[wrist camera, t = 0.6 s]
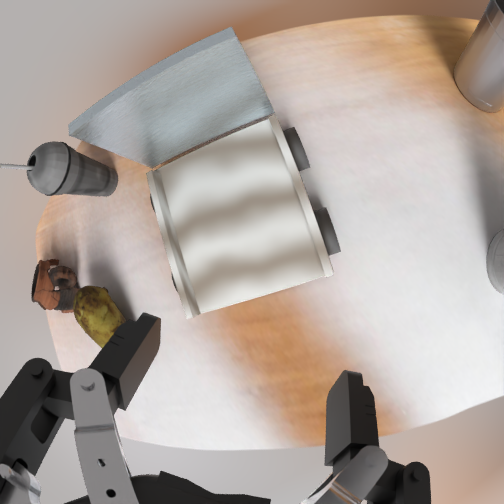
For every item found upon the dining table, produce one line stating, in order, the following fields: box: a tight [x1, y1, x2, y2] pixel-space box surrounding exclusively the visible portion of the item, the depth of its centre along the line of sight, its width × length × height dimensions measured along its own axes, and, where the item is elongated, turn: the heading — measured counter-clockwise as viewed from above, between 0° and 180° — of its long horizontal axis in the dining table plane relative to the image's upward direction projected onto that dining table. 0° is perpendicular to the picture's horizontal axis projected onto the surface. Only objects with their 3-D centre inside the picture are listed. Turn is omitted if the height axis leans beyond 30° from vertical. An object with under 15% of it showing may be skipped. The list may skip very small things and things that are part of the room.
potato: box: [73, 286, 126, 348], centre depth 38 cm, size 8×13×8 cm, turn 10°
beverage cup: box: [0, 142, 118, 196], centre depth 33 cm, size 7×7×20 cm
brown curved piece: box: [32, 259, 80, 313], centre depth 43 cm, size 12×10×8 cm
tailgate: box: [69, 27, 275, 168], centre depth 26 cm, size 2×16×14 cm, turn 109°
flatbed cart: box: [146, 115, 341, 319], centre depth 34 cm, size 18×19×7 cm
